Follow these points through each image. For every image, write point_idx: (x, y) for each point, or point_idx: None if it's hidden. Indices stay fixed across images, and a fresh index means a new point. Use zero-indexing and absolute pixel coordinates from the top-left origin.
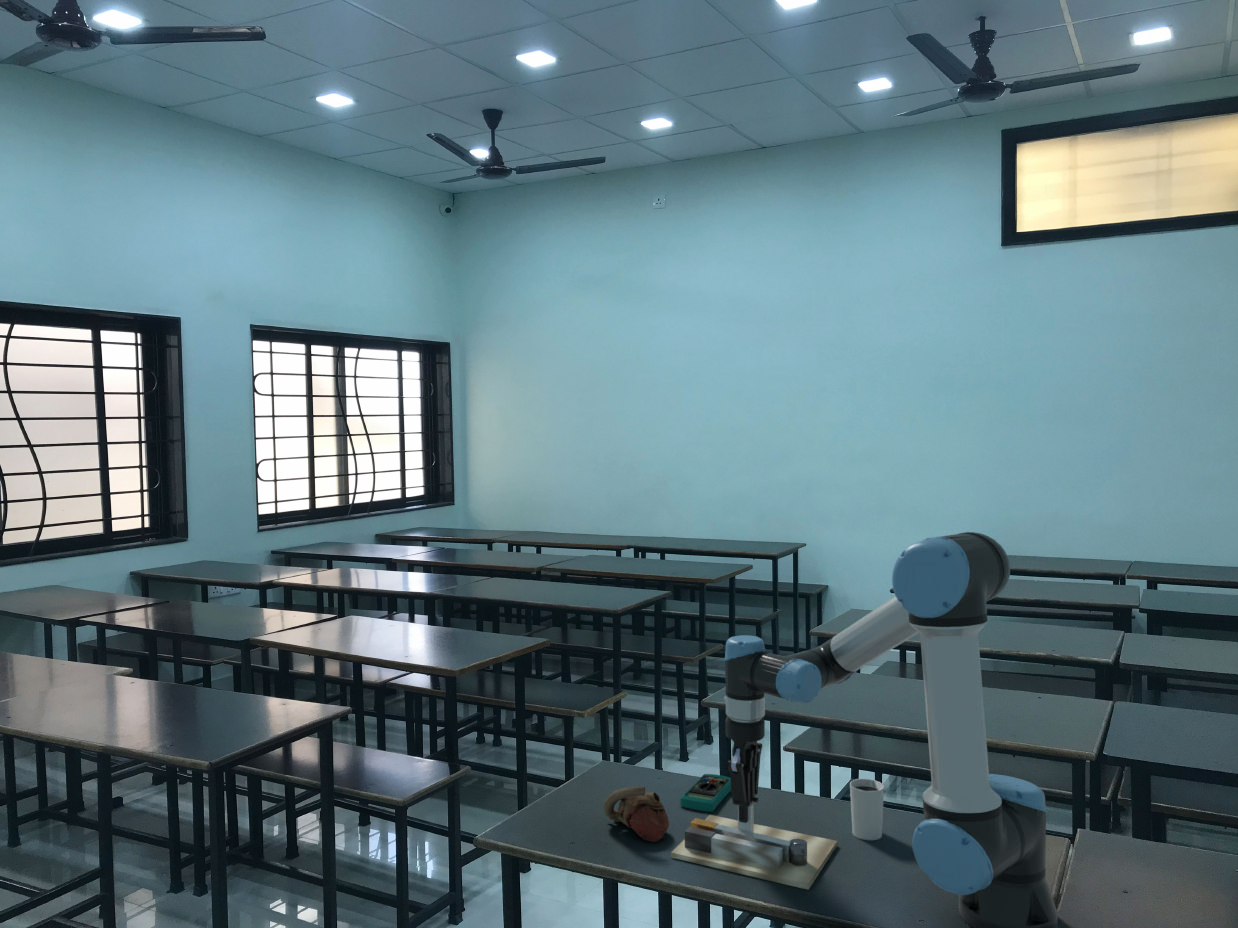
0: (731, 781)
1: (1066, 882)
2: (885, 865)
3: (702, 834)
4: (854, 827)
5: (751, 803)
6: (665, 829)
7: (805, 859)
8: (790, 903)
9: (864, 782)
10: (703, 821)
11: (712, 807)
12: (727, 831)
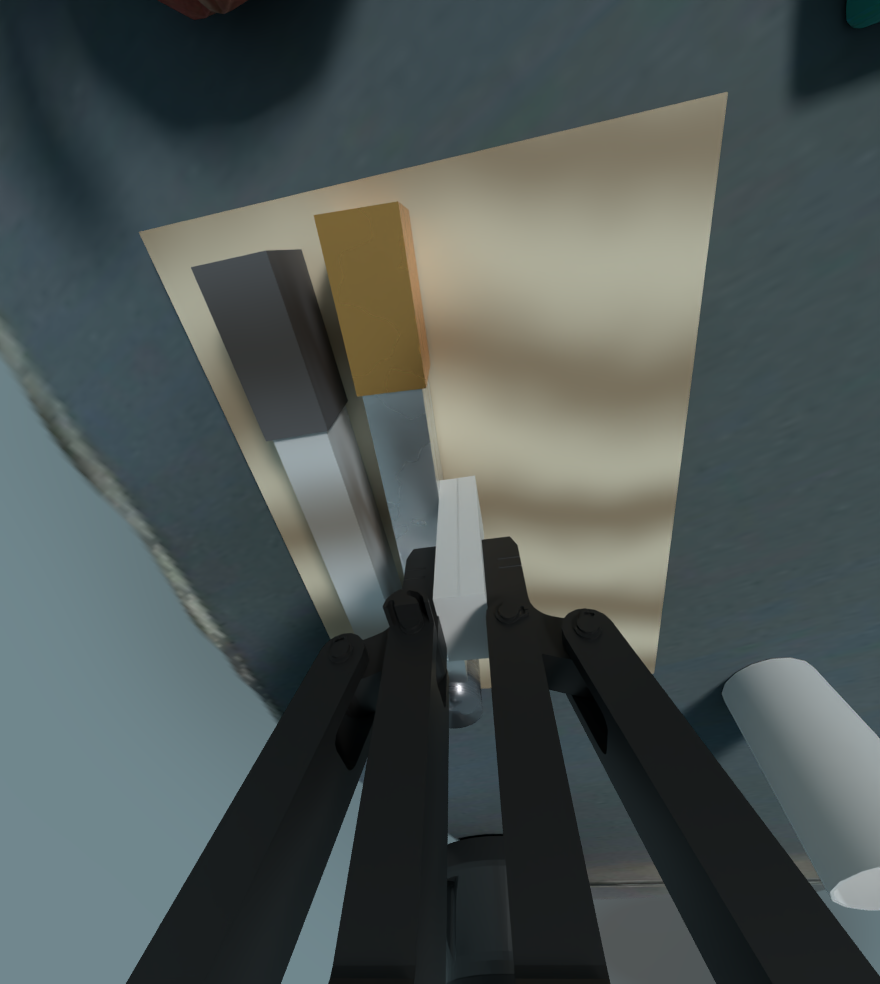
0: (187, 892)
1: (661, 886)
2: (586, 747)
3: (251, 389)
4: (755, 694)
5: (484, 650)
6: (221, 2)
7: None
8: (273, 680)
9: None
10: (387, 292)
11: (876, 12)
12: (381, 472)
